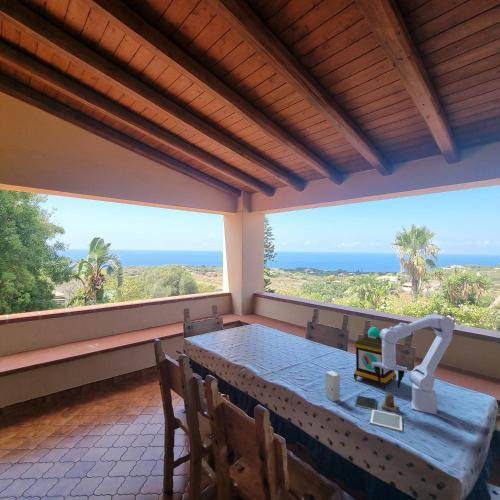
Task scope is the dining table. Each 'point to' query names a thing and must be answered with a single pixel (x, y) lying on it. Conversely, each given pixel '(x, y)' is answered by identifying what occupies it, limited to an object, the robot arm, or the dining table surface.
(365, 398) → the ink pad
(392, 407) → the stamp
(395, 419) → the marked board
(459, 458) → the dining table surface
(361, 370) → the decorative lantern
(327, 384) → the skincare box
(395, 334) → the robot arm
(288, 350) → the dining table surface
